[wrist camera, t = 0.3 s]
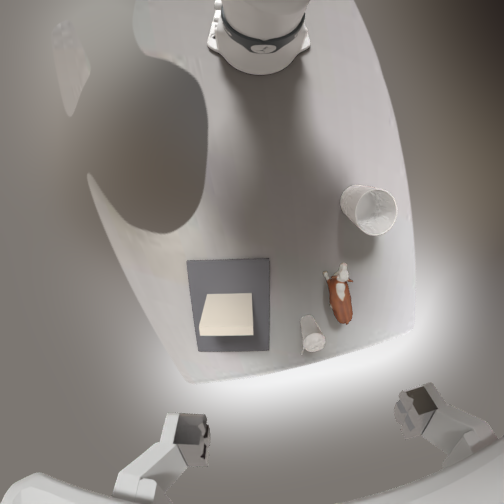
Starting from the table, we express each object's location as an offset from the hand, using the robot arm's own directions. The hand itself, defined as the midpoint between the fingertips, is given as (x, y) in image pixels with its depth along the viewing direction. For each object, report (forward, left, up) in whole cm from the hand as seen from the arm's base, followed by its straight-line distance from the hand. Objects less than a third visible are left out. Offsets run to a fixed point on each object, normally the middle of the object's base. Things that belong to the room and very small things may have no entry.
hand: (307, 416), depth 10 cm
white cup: (-1, +19, -46) cm, 49 cm away
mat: (+21, -6, -45) cm, 50 cm away
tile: (+18, -6, -45) cm, 49 cm away
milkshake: (+25, +10, -46) cm, 53 cm away
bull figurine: (+16, +15, -46) cm, 51 cm away
